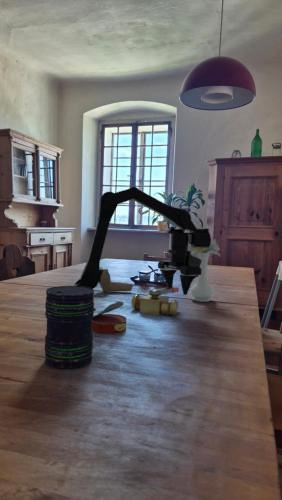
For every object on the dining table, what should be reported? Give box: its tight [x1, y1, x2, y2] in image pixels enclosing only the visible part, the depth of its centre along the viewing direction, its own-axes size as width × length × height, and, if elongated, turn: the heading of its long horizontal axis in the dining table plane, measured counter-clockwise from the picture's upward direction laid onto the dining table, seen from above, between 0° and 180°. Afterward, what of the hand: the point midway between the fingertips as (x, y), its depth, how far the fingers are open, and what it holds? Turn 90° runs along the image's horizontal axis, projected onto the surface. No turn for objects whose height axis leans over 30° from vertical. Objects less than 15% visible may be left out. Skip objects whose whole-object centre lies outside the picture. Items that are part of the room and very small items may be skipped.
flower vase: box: [187, 238, 221, 303], centre depth 135 cm, size 13×18×25 cm
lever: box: [148, 285, 180, 296], centre depth 117 cm, size 13×4×2 cm, turn 136°
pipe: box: [98, 268, 134, 293], centre depth 145 cm, size 6×17×10 cm, turn 98°
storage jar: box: [44, 285, 95, 371], centre depth 71 cm, size 10×10×15 cm
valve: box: [130, 294, 179, 317], centre depth 114 cm, size 7×15×6 cm, turn 61°
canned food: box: [92, 301, 127, 335], centre depth 94 cm, size 11×10×10 cm
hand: (177, 292), depth 118 cm, fingers open, 9 cm apart
